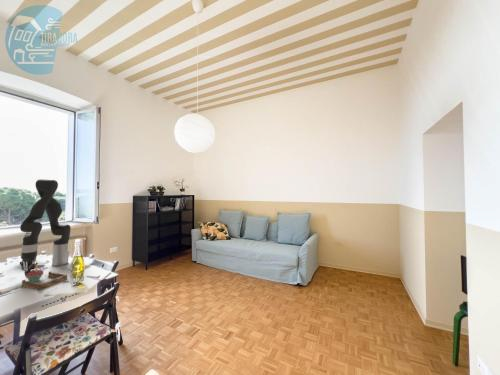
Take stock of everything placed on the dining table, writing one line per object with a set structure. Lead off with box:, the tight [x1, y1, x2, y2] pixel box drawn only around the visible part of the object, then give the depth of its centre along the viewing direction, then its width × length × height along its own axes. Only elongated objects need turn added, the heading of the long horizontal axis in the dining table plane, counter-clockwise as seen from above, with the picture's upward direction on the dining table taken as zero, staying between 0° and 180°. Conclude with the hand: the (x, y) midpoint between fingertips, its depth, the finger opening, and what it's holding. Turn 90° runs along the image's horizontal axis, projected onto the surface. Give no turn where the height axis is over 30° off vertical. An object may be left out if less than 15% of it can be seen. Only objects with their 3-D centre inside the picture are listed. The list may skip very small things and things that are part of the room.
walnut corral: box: [21, 270, 68, 290], centre depth 138 cm, size 16×15×4 cm
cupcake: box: [25, 264, 44, 283], centre depth 140 cm, size 9×8×12 cm
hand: (27, 275), depth 141 cm, fingers closed
